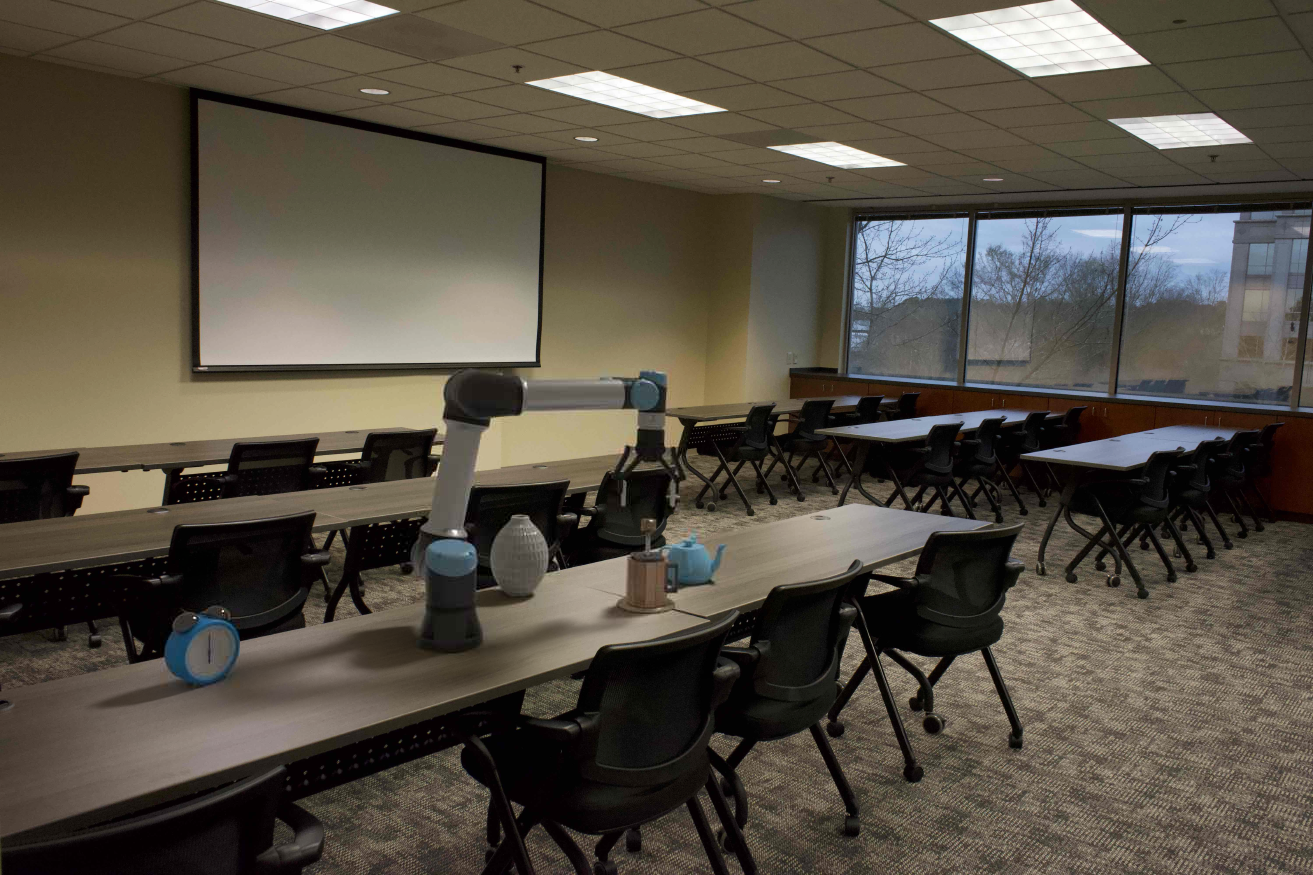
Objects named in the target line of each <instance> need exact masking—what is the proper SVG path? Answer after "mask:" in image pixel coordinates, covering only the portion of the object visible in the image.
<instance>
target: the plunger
mask: <svg viewBox="0 0 1313 875" xmlns="http://www.w3.org/2000/svg"><path fill="white" fill-rule="evenodd" d="M640 523H641V525H640V531H641V532H643V533H645V552H646V555H645V556H650V552H651V533H655V532H657V519H654V518H642V519H641V522H640ZM645 562H650V561H645Z"/></svg>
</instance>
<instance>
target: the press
mask: <svg viewBox="0 0 1313 875" xmlns="http://www.w3.org/2000/svg"><path fill="white" fill-rule="evenodd" d="M645 555H646V551H632V552H630V554H629V556H627V557H626V574H625V576H626V577H625V578H626V579H625V584H626V585H625V597H622V598H620V599H618V600H617V602H616V606H617V607H618V608H619V609H620V610H623V611H626V612H630V613H636V614H659V613H661V612H663V613H667V612H670V611H672V610H674V609H675V608H676V602H675V601H674V600H672V599H670V598H668V594H678V592H679V590H678V588H679V583H678V563H668V558H667V557H666V556H667V555H666V556H665V555H661V554H660V553H659V551H650V556H645ZM645 561H650V562H645ZM668 568H673V582H672V587H668V582H669V580H668ZM666 611H667V612H666Z"/></svg>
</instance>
